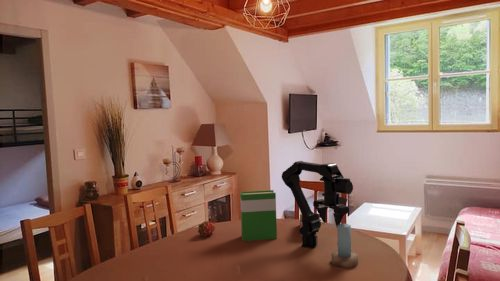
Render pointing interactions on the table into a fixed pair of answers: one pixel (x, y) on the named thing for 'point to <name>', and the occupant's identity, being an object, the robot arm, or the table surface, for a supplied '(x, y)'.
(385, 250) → the table surface
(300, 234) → the stack of blocks
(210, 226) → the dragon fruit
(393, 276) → the table surface
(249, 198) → the hardback book
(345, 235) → the blue-grey cylinder
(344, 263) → the walnut base
